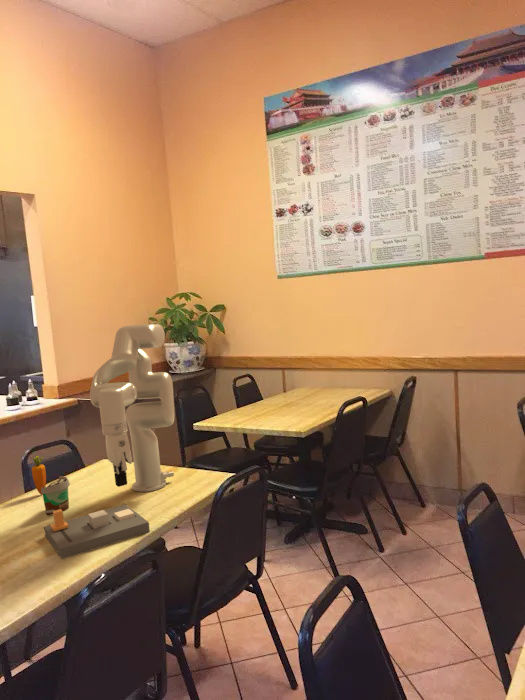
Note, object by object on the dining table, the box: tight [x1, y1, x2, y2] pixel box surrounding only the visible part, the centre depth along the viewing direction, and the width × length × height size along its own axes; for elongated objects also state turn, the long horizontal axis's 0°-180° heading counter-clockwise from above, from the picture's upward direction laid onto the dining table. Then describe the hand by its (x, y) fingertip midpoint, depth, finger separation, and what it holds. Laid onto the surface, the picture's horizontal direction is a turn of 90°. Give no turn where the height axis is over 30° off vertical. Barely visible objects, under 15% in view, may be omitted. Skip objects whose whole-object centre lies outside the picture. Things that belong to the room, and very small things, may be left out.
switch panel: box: [43, 504, 150, 560], centre depth 179 cm, size 26×20×3 cm
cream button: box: [114, 509, 135, 522], centre depth 183 cm, size 5×5×4 cm
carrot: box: [31, 455, 47, 496], centre depth 219 cm, size 5×5×15 cm
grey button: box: [87, 509, 109, 529], centre depth 179 cm, size 5×5×4 cm
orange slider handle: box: [50, 509, 69, 531], centre depth 177 cm, size 4×4×5 cm
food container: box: [40, 475, 71, 516], centre depth 202 cm, size 12×6×10 cm, turn 168°
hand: (121, 484), depth 183 cm, fingers closed
